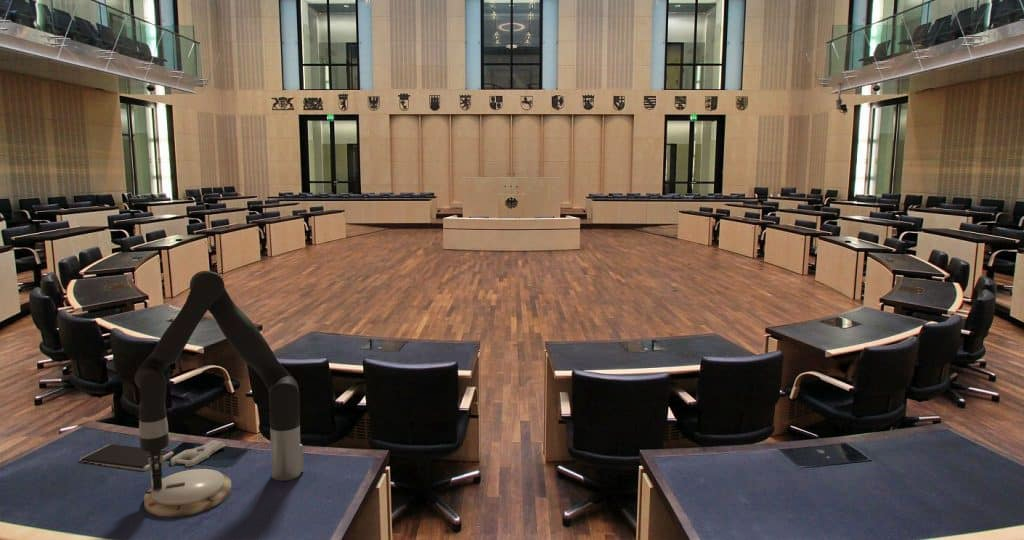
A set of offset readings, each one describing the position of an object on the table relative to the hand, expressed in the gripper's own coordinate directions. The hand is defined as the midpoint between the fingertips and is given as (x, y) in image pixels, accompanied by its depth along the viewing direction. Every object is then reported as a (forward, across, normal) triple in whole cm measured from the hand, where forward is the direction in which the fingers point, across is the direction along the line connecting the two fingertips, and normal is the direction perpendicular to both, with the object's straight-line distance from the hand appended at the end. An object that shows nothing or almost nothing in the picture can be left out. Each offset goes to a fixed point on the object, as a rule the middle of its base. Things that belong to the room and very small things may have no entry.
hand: (157, 485), depth 190 cm
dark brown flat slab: (+6, +38, +8) cm, 39 cm away
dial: (+3, -1, -8) cm, 9 cm away
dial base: (+5, -1, -8) cm, 10 cm away
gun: (+6, +28, -14) cm, 31 cm away
